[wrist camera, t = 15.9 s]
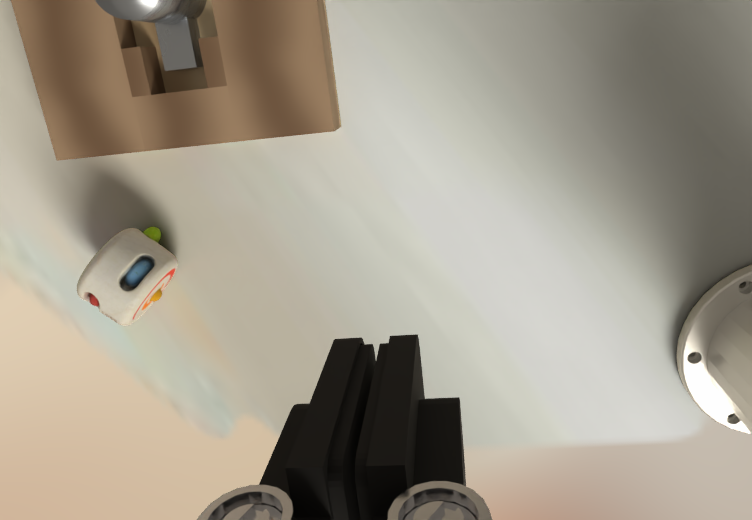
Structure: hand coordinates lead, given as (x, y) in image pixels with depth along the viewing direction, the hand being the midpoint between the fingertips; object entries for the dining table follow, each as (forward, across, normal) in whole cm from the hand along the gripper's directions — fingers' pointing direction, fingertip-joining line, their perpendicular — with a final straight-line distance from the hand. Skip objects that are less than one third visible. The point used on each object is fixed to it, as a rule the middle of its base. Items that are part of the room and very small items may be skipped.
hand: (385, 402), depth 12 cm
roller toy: (+27, +20, +5) cm, 34 cm away
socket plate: (+27, +14, -12) cm, 33 cm away
